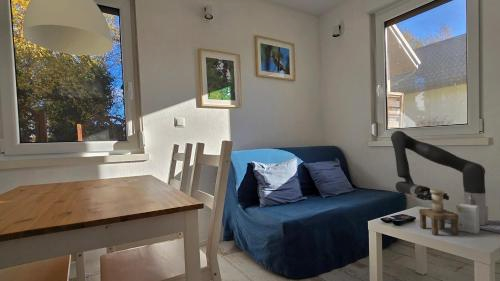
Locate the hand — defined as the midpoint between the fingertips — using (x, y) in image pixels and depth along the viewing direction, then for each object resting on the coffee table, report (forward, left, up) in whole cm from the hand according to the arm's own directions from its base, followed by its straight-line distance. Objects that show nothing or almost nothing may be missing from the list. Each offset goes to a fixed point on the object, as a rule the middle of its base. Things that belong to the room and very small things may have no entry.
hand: (439, 198), depth 136 cm
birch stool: (0, -2, -7) cm, 8 cm away
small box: (-15, -2, -18) cm, 23 cm away
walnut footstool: (0, -2, -17) cm, 18 cm away
